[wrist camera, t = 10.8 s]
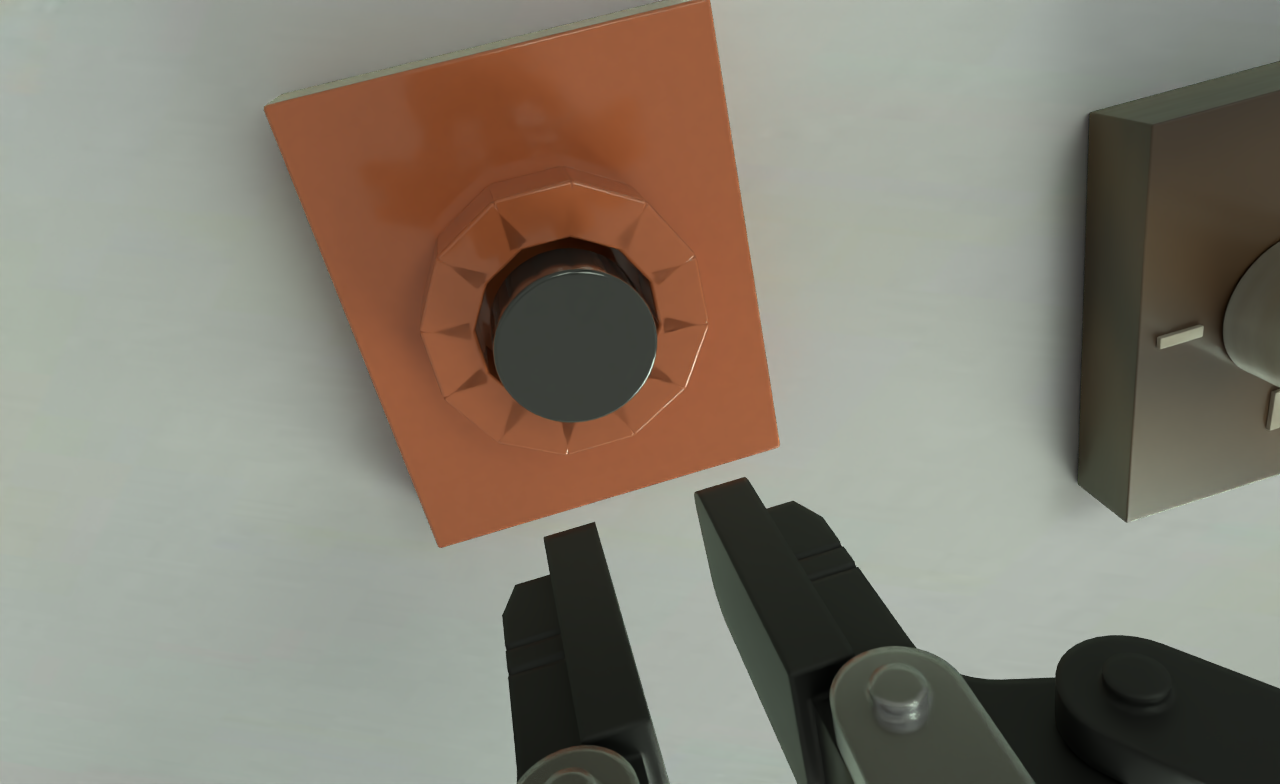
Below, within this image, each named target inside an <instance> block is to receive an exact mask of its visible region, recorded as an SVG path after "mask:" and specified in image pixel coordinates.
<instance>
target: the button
mask: <svg viewBox="0 0 1280 784" xmlns="http://www.w3.org/2000/svg"><path fill="white" fill-rule="evenodd" d="M489 326H490V336H491V343H492V351H493V358H494V363H495V368H496V371H497V374H498V376H499V379H500V381H501V383H502V384H503V386H504V388H505V389H506V391H507V392H508V393H509V395H510V396H511V397H512V398H513V399H514V400H515V401H516V402H517V403H518V404H520V405H521V406H522V407H524V408H525V409H526V410H528V411H530V412H532V413H534V414H535V415H538V416H540V417H543V418H546V419H549V420H553V421H559V422H575V423H576V422H585V421H590V420H594V419H598V418H601V417H604V416H606V415H608V414H610V413H612V412H614V411H616V410H618V409H619V408H621V407H622V406H624V405H625V404H626V403H627V402H629V401H630V400H631V399H632V398H633V397H634V396H635V395H636V394H637V393H638V392H639V391H640V389H641V388H642V387H643V385H644V384H645V382H646V380H647V379H648V377H649V375H650V373H651V370H652V368H653V366H654V362H655V358H656V354H657V346H658V340H657V329H656V324H655V321H654V318H653V315H652V313H651V311H650V308H649V307H648V305H647V303H646V302H645V300H644V299H643V297H642V296H641V294H640V293H639V291H638V289H637V288H636V286H635V285H634V283H633V282H632V280H631V278H630V277H629V276H628V275H627V274H626V272H625V271H624V270H623V269H622V268H621V267H620V266H618V265H617V264H616V263H615V262H613V261H612V260H610V259H609V258H607V257H605V256H603V255H601V254H598V253H595V252H592V251H589V250H584V249H577V248H562V249H555V250H550V251H546V252H543V253H540V254H538V255H535V256H533V257H531V258H529V259H528V260H526V261H525V262H523V263H522V264H520V265H519V266H518V267H516V268H515V269H514V270H513V271H512V272H511V273H510V274H509V275H508V276H507V278H506V279H505V280H504V281H503V283H502V284H501V286H500V287H499V289H498V291H497V293H496V295H495V298H494V301H493V304H492V307H491V312H490V324H489Z"/></svg>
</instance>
